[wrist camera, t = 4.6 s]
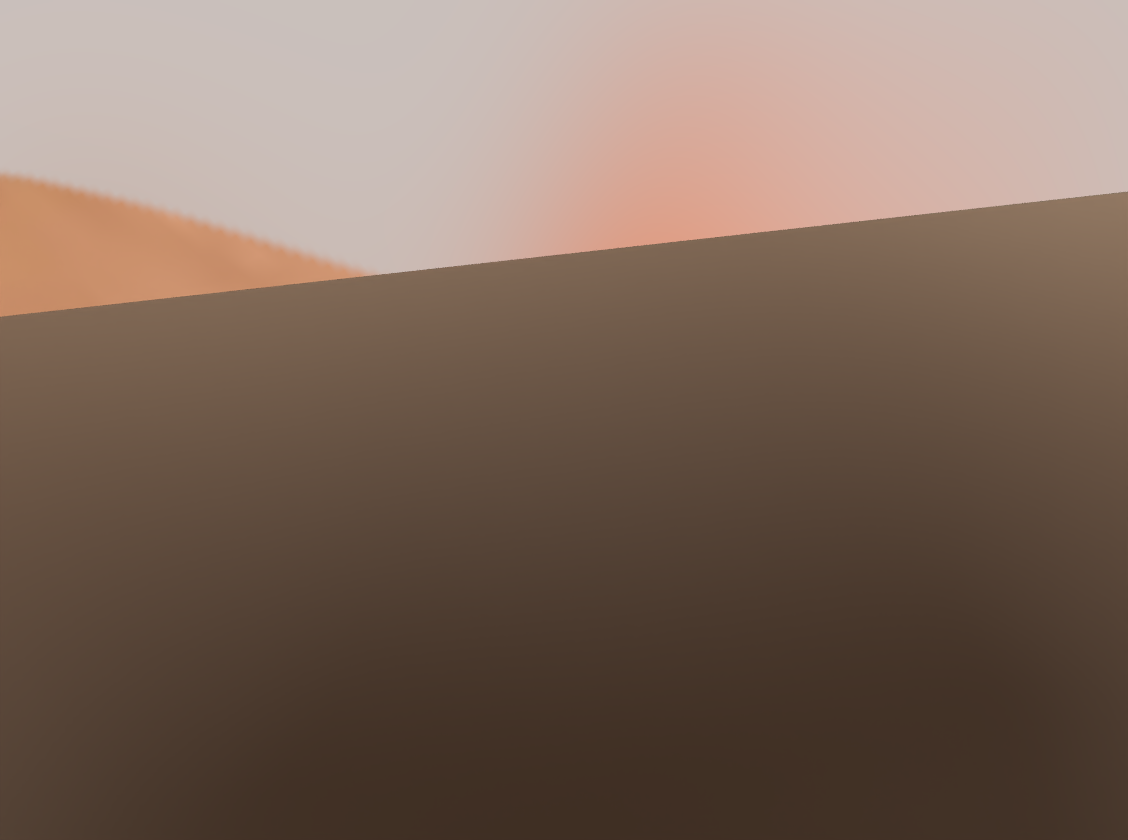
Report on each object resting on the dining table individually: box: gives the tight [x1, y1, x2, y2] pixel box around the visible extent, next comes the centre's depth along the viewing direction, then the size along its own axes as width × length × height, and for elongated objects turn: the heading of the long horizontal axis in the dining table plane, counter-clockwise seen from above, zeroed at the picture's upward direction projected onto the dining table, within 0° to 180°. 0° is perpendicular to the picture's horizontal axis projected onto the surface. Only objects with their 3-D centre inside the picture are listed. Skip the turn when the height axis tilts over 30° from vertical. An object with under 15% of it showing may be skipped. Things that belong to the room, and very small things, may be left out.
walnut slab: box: [0, 192, 1128, 840], centre depth 9 cm, size 4×6×13 cm, turn 97°
